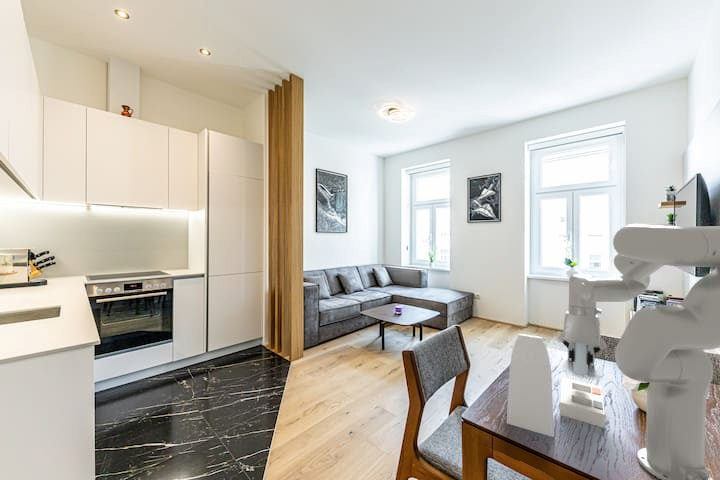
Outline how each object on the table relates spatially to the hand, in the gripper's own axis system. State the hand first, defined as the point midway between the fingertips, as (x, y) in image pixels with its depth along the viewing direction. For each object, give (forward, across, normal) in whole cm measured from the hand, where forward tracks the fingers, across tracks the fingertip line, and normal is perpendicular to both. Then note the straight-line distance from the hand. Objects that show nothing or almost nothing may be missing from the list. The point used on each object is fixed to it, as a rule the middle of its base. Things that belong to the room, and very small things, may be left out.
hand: (580, 362), depth 101 cm
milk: (+13, +12, +24) cm, 30 cm away
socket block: (+13, 0, +6) cm, 14 cm away
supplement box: (+14, 0, -35) cm, 38 cm away
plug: (+4, 0, 0) cm, 4 cm away
